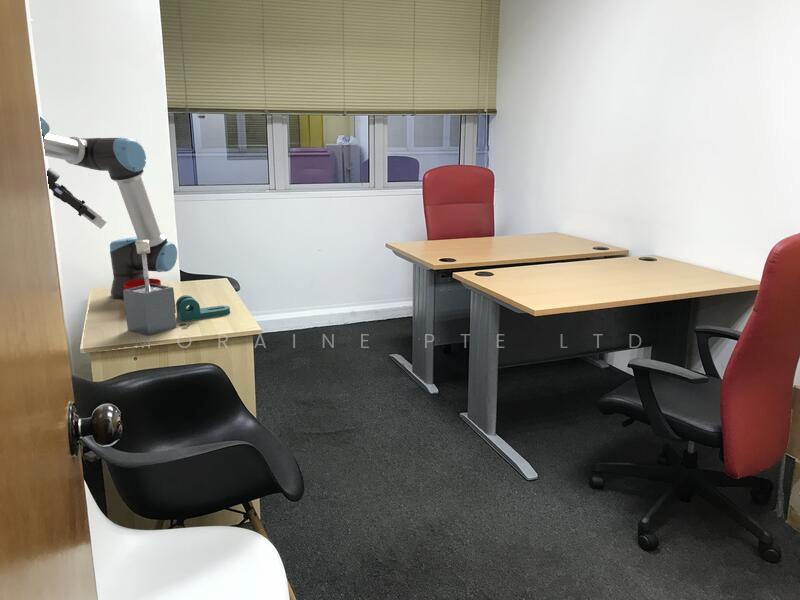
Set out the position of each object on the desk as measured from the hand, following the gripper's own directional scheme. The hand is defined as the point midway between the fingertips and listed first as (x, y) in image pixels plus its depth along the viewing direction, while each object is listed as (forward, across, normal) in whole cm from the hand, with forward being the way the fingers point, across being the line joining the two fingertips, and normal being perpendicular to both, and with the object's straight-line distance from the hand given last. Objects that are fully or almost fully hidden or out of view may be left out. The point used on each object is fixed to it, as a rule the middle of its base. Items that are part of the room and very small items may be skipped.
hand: (101, 223), depth 198 cm
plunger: (+25, +1, -9) cm, 26 cm away
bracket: (+48, -6, -4) cm, 48 cm away
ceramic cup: (+36, -27, -15) cm, 48 cm away
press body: (+35, 0, -17) cm, 39 cm away
